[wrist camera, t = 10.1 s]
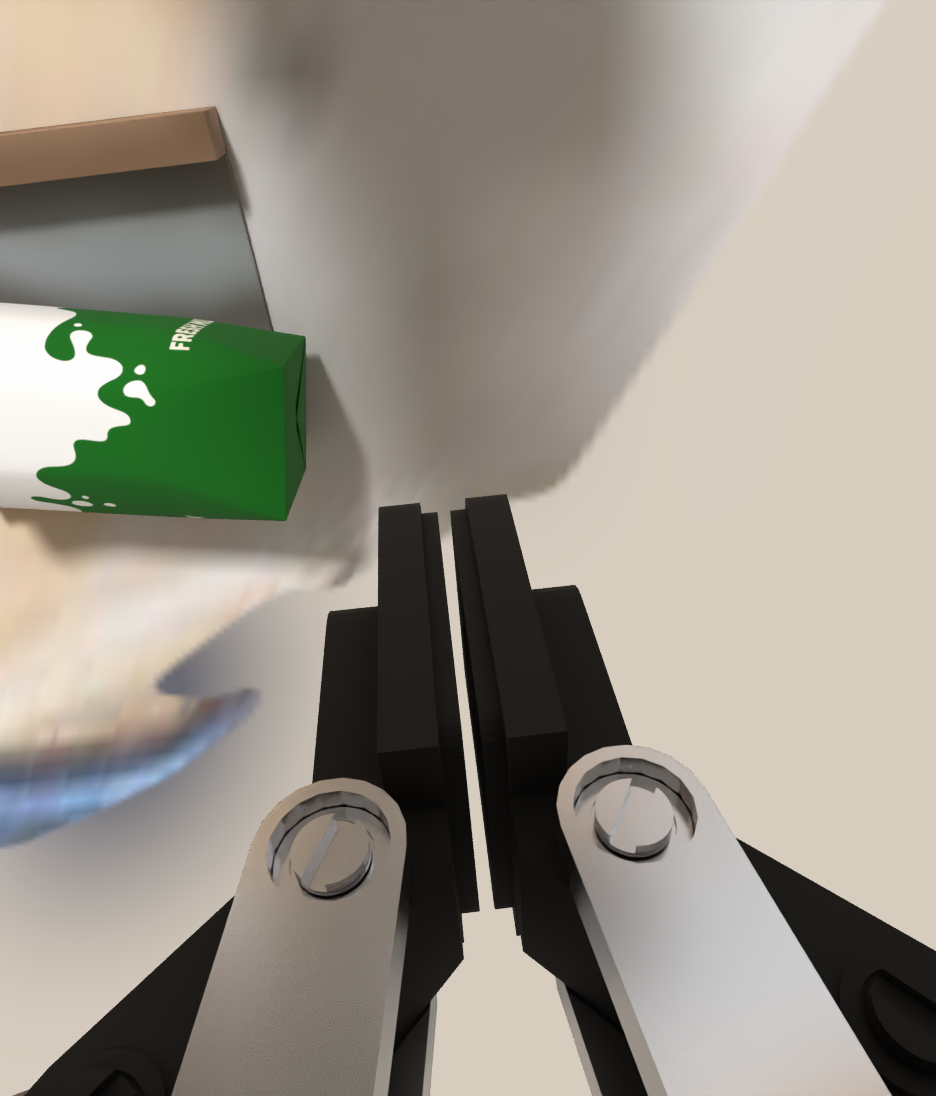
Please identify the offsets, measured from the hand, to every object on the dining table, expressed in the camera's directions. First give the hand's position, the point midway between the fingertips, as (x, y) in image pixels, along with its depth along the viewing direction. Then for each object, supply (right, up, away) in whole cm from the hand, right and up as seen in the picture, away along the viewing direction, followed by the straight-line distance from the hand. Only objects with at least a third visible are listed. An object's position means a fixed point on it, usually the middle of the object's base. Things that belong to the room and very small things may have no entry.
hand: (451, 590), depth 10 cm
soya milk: (-8, +6, +26) cm, 28 cm away
